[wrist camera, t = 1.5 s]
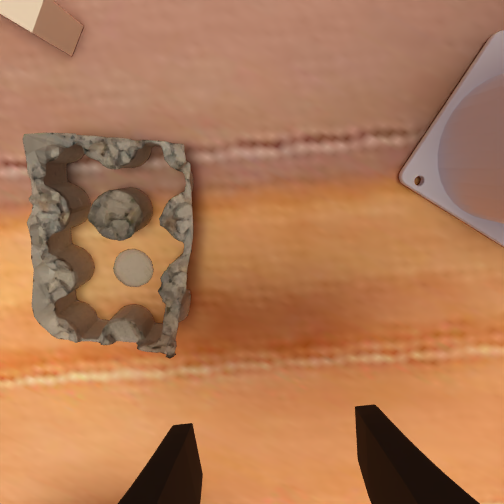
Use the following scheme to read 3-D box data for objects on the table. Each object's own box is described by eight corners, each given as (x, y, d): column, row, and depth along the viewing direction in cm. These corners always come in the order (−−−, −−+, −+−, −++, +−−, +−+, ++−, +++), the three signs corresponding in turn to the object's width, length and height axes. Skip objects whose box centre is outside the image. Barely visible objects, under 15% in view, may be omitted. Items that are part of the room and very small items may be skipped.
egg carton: (192, 329, 20) (177, 370, 16) (67, 316, 20) (22, 354, 16) (207, 148, 17) (194, 143, 13) (63, 129, 17) (6, 119, 13)
